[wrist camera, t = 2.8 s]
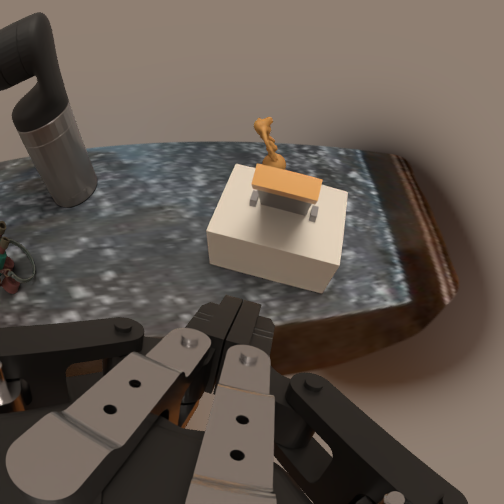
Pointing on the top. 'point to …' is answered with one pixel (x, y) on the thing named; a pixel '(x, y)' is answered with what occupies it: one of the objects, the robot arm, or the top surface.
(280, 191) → the handle
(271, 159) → the figurine
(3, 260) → the binoculars
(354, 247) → the top surface
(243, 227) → the breaker housing
